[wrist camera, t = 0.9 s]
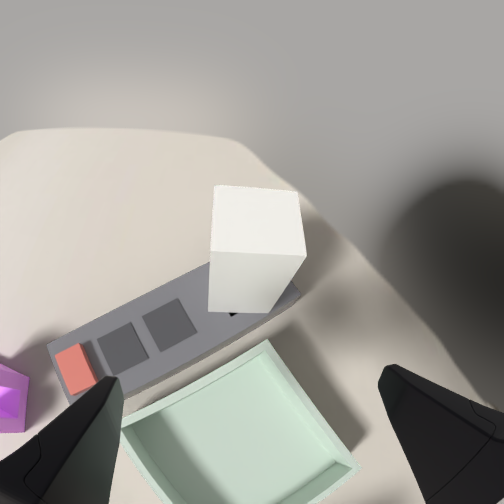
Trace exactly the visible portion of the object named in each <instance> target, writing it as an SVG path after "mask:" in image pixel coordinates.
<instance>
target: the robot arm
mask: <svg viewBox="0 0 504 504" xmlns="http://www.w3.org/2000/svg"><path fill="white" fill-rule="evenodd" d="M378 389H379V392H380V395H381V398H382V400H383V403H384V406H385V409H386V412H387V415H388V418H389V420H390V422H391V425H392V427H393V429H394V431H395V433H396V436H397V438H398V440H399V442H400V444H401V446H402V449H403V451H404V453H405V455H406V458H407V460H408V462H409V464H410V467H411V469H412V471H413V474H414V476H415V478H416V481H417V483H418V485H419V488H420V490H421V493H422V495H423V498H424V500H425V503H426V504H504V413H502V412H499V411H496V410H494V409H491V408H488V407H486V406H483V405H481V404H479V403H476V402H474V401H472V400H469V399H467V398H465V397H463V396H461V395H459V394H457V393H454V392H452V391H450V390H448V389H446V388H444V387H442V386H440V385H438V384H435V383H433V382H431V381H429V380H427V379H425V378H423V377H421V376H419V375H417V374H415V373H413V372H411V371H409V370H407V369H405V368H403V367H401V366H399V365H397V364H392V365H387V366H385V367H384V369H383V372H382V374H381V376H380V379H379V381H378ZM123 404H124V395H123V391H122V388H121V384H120V380H119V378H118V377H116V376H109V375H106V376H104V377H103V378H102V379H101V380H100V381H98V382H97V383H96V384H95V385H94V386H93V387H91V388H90V389H89V390H88V391H87V392H85V393H84V394H83V395H82V396H81V397H80V398H78V399H77V400H76V401H75V402H74V403H73V404H71V405H70V406H69V407H68V408H67V409H66V410H64V411H63V412H62V413H61V414H60V415H58V416H57V417H56V418H55V419H54V420H53V421H51V422H50V423H49V424H48V425H47V426H46V427H44V428H43V429H42V430H41V431H40V432H39V433H38V435H37V434H36V435H35V436H34V437H33V438H31V439H30V440H29V441H28V442H26V443H25V444H24V445H23V446H21V447H20V448H19V449H18V450H16V451H15V452H13V453H12V454H10V455H9V456H7V457H6V458H4V459H3V460H1V461H0V504H109V497H110V491H111V485H112V479H113V473H114V468H115V462H116V457H117V452H118V448H119V442H120V434H121V423H122V413H123Z"/></svg>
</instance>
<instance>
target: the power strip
mask: <svg viewBox="0 0 504 504" xmlns="http://www.w3.org/2000/svg"><path fill="white" fill-rule="evenodd" d="M209 269H210V262H208V263H206V264H204V265H202V266H200V267H198V268H196V269H194V270H192V271H190V272H188V273H186V274H184V275H182V276H180V277H178V278H176V279H174V280H172V281H170V282H168V283H166V284H164V285H162V286H160V287H158V288H156V289H154V290H152V291H150V292H148V293H146V294H144V295H142V296H140V297H138V298H136V299H134V300H132V301H130V302H128V303H126V304H124V305H122V306H120V307H118V308H116V309H114V310H112V311H111V312H109V313H107V314H105V315H103V316H101V317H99V318H97V319H95V320H93V321H91V322H89V323H87V324H85V325H83V326H81V327H79V328H77V329H75V330H73V331H72V332H70V333H68V334H66V335H64V336H62V337H60V338H58V339H56V340H54V341H52V342H50V343H48V344H46V345H47V348H48V351H49V354H50V357H51V360H52V363H53V365H54V368H55V371H56V373H57V376H58V378H59V381H60V383H61V386H62V388H63V390H64V393H65V395H66V397H67V399H68V402H69V404H70V405H71V404H73V403H74V402H75V401H76V400H77V399H78V398H80V397H81V396H82V395H83V394H84V393H85V392H87V391H88V390H89V389H90V388H91V387H93V386H94V385H95V384H96V383H97V382H98V381H100V380H101V379H102V378H103V377H104V376H106V375H109V376H116V377H118V378H119V380H120V384H121V388H122V391H123V395H124V400H125V399H128V398H130V397H132V396H134V395H136V394H138V393H140V392H142V391H144V390H146V389H148V388H150V387H152V386H154V385H156V384H158V383H160V382H162V381H163V380H165V379H167V378H169V377H171V376H173V375H175V374H177V373H179V372H181V371H182V370H184V369H186V368H188V367H190V366H192V365H193V364H195V363H197V362H199V361H201V360H203V359H204V358H206V357H208V356H210V355H211V354H213V353H215V352H217V351H218V350H220V349H222V348H224V347H225V346H227V345H229V344H231V343H232V342H234V341H236V340H237V339H239V338H241V337H242V336H244V335H246V334H247V333H249V332H251V331H252V330H254V329H256V328H257V327H259V326H261V325H262V324H264V323H266V322H267V321H269V320H270V319H272V318H274V317H275V316H277V315H278V314H280V313H282V312H283V311H285V310H286V309H288V308H289V307H291V306H292V305H293V303H294V302H295V301H296V300H297V299H298V298H299V296H300V295H301V293H300V292H299V291H298V289H297V288H296V287H295V285H294V284H293V282H292V281H290V282H289V284H288V285H287V287H286V288H285V290H284V291H283V293H282V294H281V296H280V297H279V299H278V300H277V302H276V303H275V304H274V306H273V307H272V309H271V310H270V312H269V313H231V312H208V295H209Z"/></svg>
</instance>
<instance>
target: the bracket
mask: <svg viewBox="0 0 504 504" xmlns="http://www.w3.org/2000/svg"><path fill="white" fill-rule="evenodd" d="M29 379H30V377H27V376H25V375H23V374H21V373H19V372H17V371H15V370H12V369H10V368H8V367H6V366H4V365H2V364H1V363H0V433H19V432H25V417H26V405H27V395H28V387H29Z"/></svg>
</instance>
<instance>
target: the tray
mask: <svg viewBox="0 0 504 504" xmlns="http://www.w3.org/2000/svg"><path fill="white" fill-rule="evenodd" d="M120 443H121V445H122V447H123V448H124V450H125V451H126V453H127V454H128V456H129V457H130V459H131V460H132V462H133V463H134V465H135V466H136V468H137V469H138V471H139V472H140V474H141V475H142V476H143V478H144V479H145V480H146V482H147V483H148V484H149V486H150V487H151V488H152V490H153V491H154V492H155V493H156V495H157V496H158V497H159V498H160V500H161V501H162V502H163V503H164V504H317V503H319V502H320V501H321V500H323V499H324V498H326V497H327V496H328V495H330V494H331V493H332V492H334V491H335V490H336V489H337V488H339V487H340V486H341V485H342V484H344V483H345V482H346V481H347V480H349V479H350V478H351V477H352V476H353V475H355V474H356V473H357V472H358V471H359V470H360V469H361V468H362V467H361V466H360V465H359V463H358V462H357V461H356V460H355V458H354V457H353V456H352V454H351V453H350V452H349V451H348V449H347V448H346V447H345V445H344V444H343V443H342V441H341V440H340V439H339V437H338V436H337V435H336V433H335V432H334V431H333V430H332V428H331V427H330V426H329V424H328V423H327V421H326V420H325V419H324V417H323V416H322V415H321V413H320V412H319V411H318V409H317V408H316V407H315V405H314V404H313V403H312V401H311V400H310V398H309V397H308V396H307V394H306V393H305V391H304V390H303V389H302V387H301V386H300V385H299V383H298V382H297V380H296V379H295V378H294V376H293V375H292V373H291V372H290V371H289V369H288V368H287V366H286V365H285V363H284V362H283V361H282V359H281V358H280V356H279V355H278V353H277V352H276V351H275V349H274V348H273V346H272V345H271V343H270V342H269V340H268V339H266V340H264V341H263V342H261V343H260V344H258V345H256V346H255V347H253V348H252V349H250V350H248V351H247V352H245V353H243V354H242V355H240V356H238V357H237V358H235V359H233V360H232V361H230V362H228V363H227V364H225V365H223V366H221V367H220V368H218V369H216V370H215V371H213V372H211V373H209V374H207V375H206V376H204V377H202V378H200V379H199V380H197V381H195V382H193V383H191V384H189V385H188V386H186V387H184V388H182V389H180V390H178V391H176V392H174V393H172V394H171V395H169V396H167V397H165V398H163V399H161V400H159V401H157V402H155V403H153V404H151V405H149V406H147V407H145V408H143V409H141V410H139V411H136V412H134V413H132V414H130V415H128V416H126V417H124V418H122V423H121V434H120Z"/></svg>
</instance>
